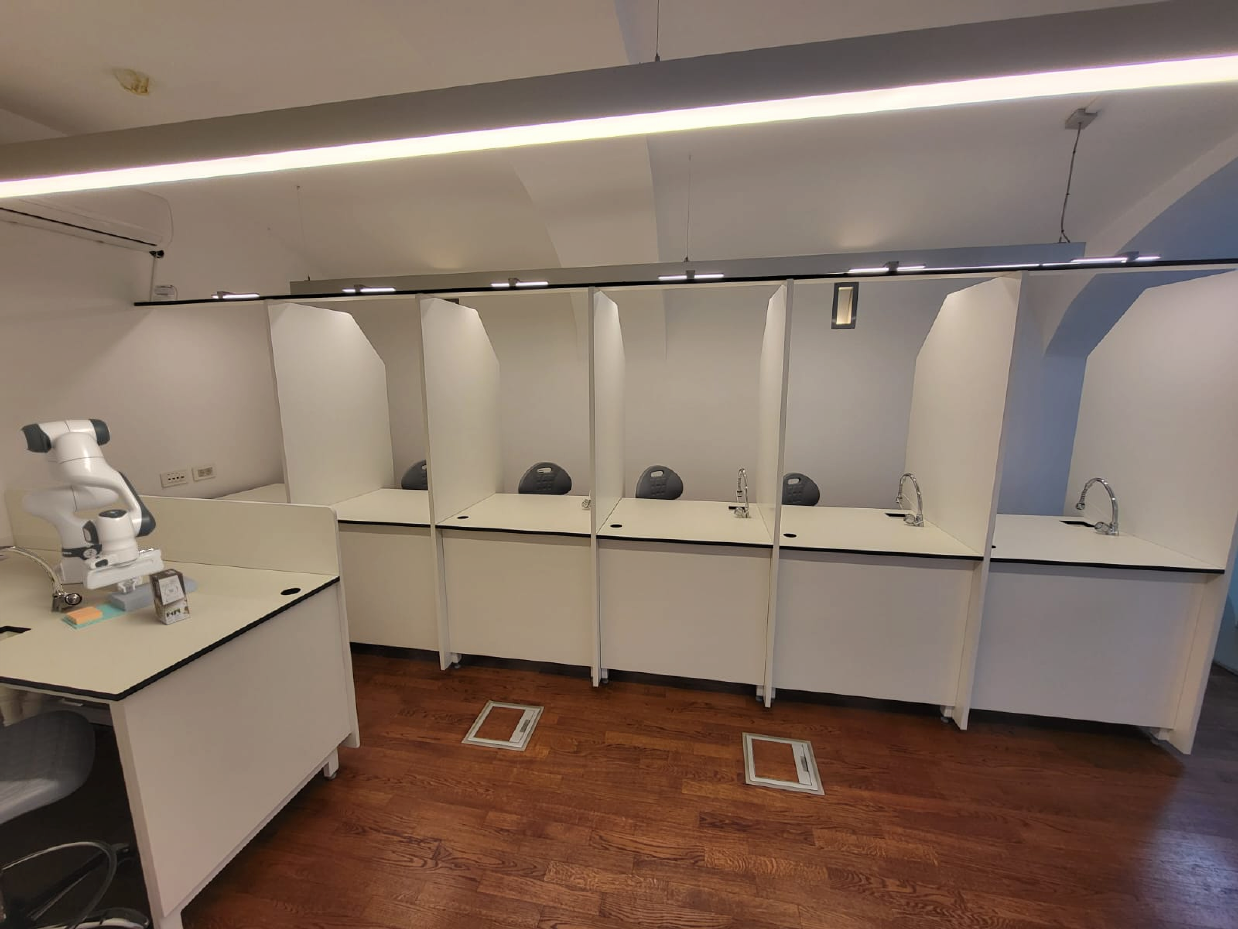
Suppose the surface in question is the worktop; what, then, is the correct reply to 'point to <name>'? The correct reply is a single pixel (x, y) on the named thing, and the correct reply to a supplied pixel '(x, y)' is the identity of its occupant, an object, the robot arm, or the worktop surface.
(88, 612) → the orange block
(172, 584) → the coffee box
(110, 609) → the mat
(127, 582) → the white cup
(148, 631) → the worktop surface
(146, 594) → the gray block
